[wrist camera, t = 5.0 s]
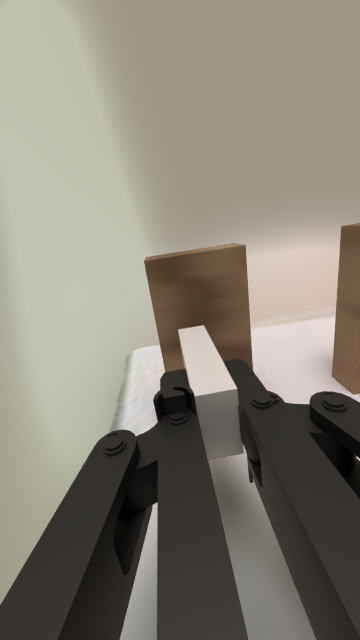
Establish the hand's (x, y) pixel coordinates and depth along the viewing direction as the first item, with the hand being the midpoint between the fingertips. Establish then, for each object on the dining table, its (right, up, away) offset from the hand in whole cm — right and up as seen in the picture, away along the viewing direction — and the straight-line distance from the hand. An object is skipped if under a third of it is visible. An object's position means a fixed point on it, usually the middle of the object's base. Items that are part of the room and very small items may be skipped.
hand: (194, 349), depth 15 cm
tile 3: (+2, -5, +5) cm, 7 cm away
